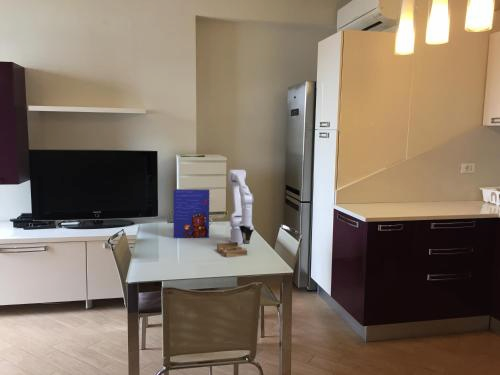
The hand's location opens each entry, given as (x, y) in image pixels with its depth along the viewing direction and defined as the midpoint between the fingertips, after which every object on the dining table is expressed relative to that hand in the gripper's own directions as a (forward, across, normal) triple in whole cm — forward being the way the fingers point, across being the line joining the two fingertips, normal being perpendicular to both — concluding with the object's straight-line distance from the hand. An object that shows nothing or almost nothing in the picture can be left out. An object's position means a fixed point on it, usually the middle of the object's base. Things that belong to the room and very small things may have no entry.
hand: (246, 239), depth 248 cm
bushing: (+2, 0, 0) cm, 2 cm away
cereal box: (+6, -39, -20) cm, 44 cm away
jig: (+6, +3, -10) cm, 12 cm away
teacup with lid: (+7, -56, -6) cm, 56 cm away
